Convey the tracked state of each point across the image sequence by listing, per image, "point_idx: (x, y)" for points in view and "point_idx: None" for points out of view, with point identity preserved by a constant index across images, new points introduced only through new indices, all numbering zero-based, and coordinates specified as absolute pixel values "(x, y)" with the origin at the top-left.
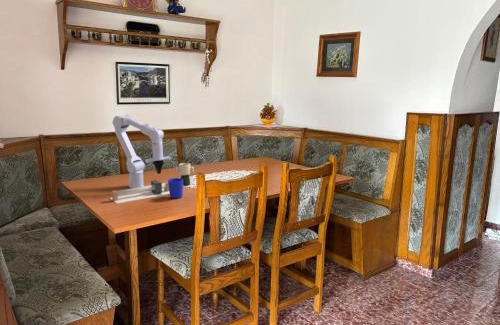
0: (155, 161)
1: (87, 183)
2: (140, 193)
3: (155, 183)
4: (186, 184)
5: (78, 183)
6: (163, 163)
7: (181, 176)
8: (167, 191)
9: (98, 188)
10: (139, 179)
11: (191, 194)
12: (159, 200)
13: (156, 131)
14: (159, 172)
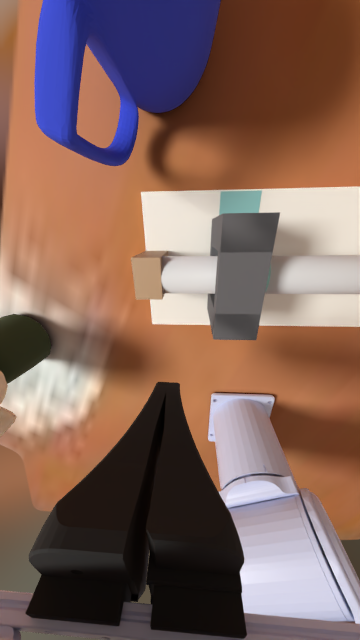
0: (219, 620)
1: (333, 514)
2: (301, 310)
3: (273, 241)
4: (20, 316)
5: (351, 523)
6: (68, 498)
7: (8, 366)
8: (160, 250)
9: (355, 466)
10: (252, 435)
11: (20, 61)
12: (313, 45)
13: None
14: (168, 389)
